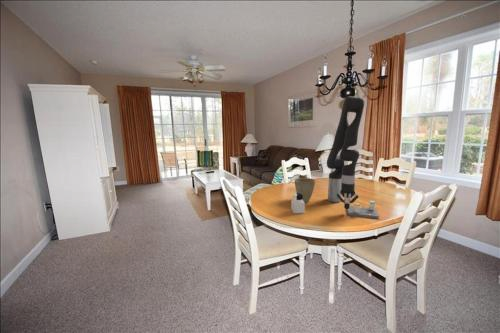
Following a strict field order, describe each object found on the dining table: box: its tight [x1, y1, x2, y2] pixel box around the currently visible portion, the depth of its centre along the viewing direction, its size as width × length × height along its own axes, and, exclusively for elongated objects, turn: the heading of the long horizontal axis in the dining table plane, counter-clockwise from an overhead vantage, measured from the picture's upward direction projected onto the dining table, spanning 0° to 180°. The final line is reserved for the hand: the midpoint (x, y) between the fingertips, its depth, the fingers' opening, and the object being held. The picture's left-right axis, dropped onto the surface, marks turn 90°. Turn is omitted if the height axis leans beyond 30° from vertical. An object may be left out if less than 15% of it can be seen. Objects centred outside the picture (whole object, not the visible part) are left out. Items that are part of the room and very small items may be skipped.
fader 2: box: [368, 200, 376, 210], centre depth 135 cm, size 2×3×5 cm
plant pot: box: [294, 177, 316, 203], centre depth 160 cm, size 15×15×16 cm
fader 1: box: [354, 202, 361, 213], centre depth 132 cm, size 2×3×5 cm
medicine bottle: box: [290, 192, 306, 214], centre depth 139 cm, size 7×7×12 cm
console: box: [346, 205, 380, 220], centre depth 135 cm, size 16×13×2 cm
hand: (346, 208), depth 134 cm, fingers closed
